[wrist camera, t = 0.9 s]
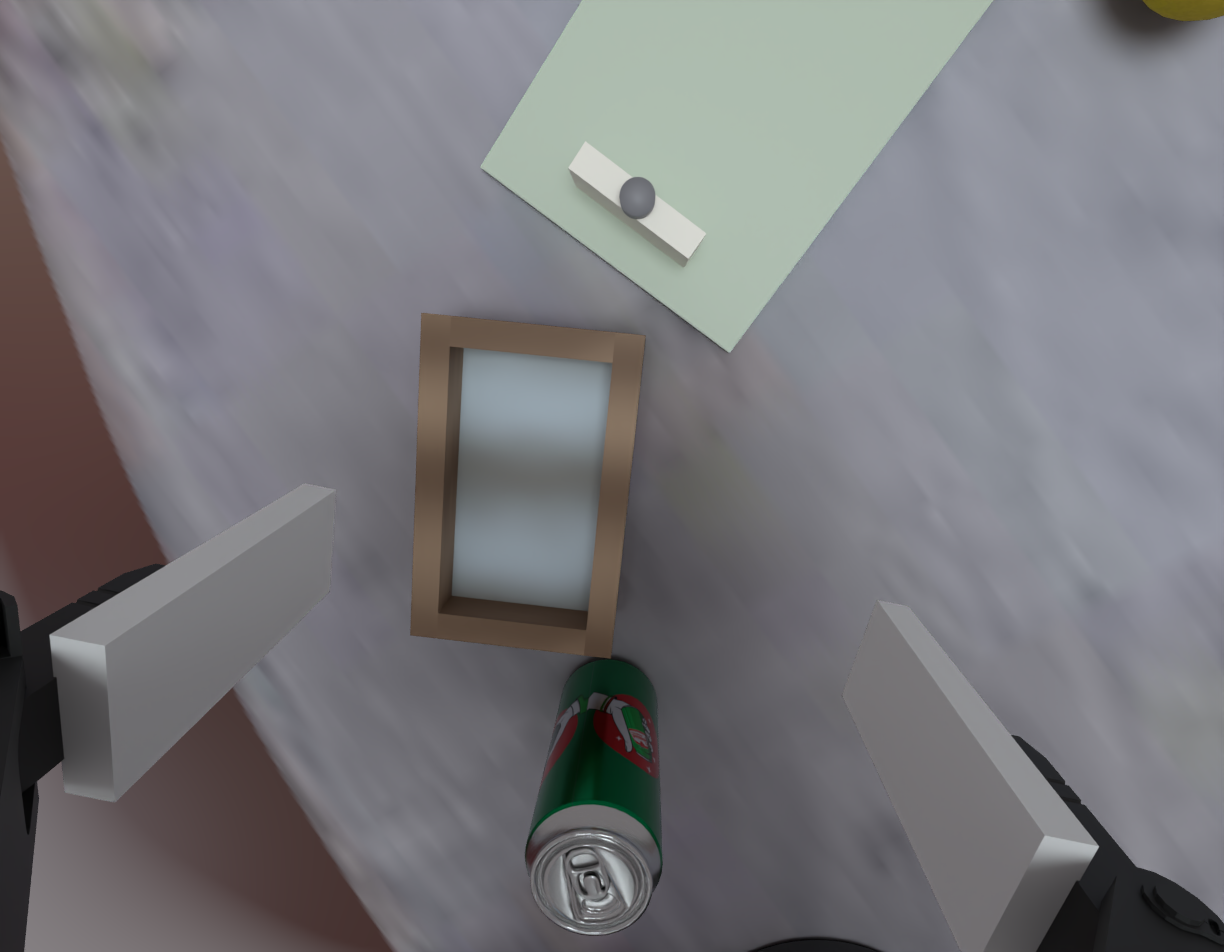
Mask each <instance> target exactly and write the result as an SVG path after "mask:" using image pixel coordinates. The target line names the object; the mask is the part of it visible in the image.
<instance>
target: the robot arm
mask: <svg viewBox="0 0 1224 952" xmlns="http://www.w3.org/2000/svg"><path fill="white" fill-rule="evenodd" d="M335 503H336V490H335V489H330V488H325V487H320V486H315V485H311V484H306V483H304V484H303V485H301V486H299V487H298V488H296V489H294V490H292V491H291V492H289V493H287V494H286V495H284V496H282V497H281V498H279V499H277V500H276V501H274V502H272V503H271V504H269V505H267V506H266V507H264V508H262V509H260V510H259V511H257V512H255V513H254V514H252V515H250V516H249V517H247V518H245V519H244V520H242V521H240V522H239V523H237V524H235V525H234V526H232V527H230V528H228V529H227V530H225V531H223V532H222V533H220V534H218V535H217V536H215V537H213V538H212V539H210V540H208V541H207V542H205V543H203V544H202V545H200V546H198V547H196V548H195V549H193V550H191V551H190V552H188V553H186V554H185V555H183V556H181V557H180V558H178V559H176V560H175V561H173V562H171V563H170V564H168V565H166V566H165V565H160V564H153V565H150V566H147V567H144V568H141V569H137V570H134V571H131V572H127V573H124V574H122V575H120V576H119V577H117V578H115V579H113V580H112V581H110V582H108V583H106V584H105V585H103V586H101V587H99V588H98V591H92V592H90V593H88V594H87V595H85V596H83V597H81V598H79V599H78V600H77V602H76V603H71V604H69V605H67V606H65V607H63V608H62V609H60V610H58V611H56V612H55V613H53V614H51V615H49V616H47V617H46V618H44V619H42V620H40V621H39V622H37V623H35V624H33V625H31V626H30V627H28V628H26V629H24V630H22V631H21V632H20V626H19V617H18V608H17V603H16V601H15V598H14V596H12V595H9V594H7V593H5V592H3V591H0V952H24V947H25V935H26V925H27V916H28V904H29V895H30V885H31V875H32V863H33V854H34V843H35V834H36V823H37V813H38V803H39V795H38V787H37V781H38V780H39V779H40V778H41V777H43V776H44V775H45V774H46V773H48V772H49V771H50V770H51V769H52V768H54V767H55V766H56V765H57V764H58V763H60V762H61V761H62V771H63V780H64V792H65V793H71V794H75V795H80V796H85V797H90V798H95V799H100V800H105V801H110V802H116V801H117V800H118V799H119V798H120V797H121V796H122V795H123V794H124V793H125V792H126V791H127V790H128V789H129V788H130V787H131V786H132V785H133V784H134V783H135V782H136V781H137V780H138V779H139V778H140V777H141V776H142V775H143V774H144V773H146V772H147V771H148V769H150V768H151V767H152V766H153V765H154V764H155V763H156V761H158V760H159V759H160V758H161V757H162V756H163V755H164V754H165V753H166V752H167V751H168V750H169V749H170V748H171V747H172V746H173V745H174V744H175V743H176V742H177V741H178V740H179V739H180V738H181V737H182V736H183V735H184V734H185V733H186V732H187V731H188V730H189V729H190V728H191V727H192V726H193V725H194V724H195V723H196V722H197V721H199V720H200V719H201V718H202V716H204V715H205V714H206V713H207V712H208V711H209V710H210V708H212V707H213V706H214V705H215V704H216V703H217V702H218V701H219V700H220V699H221V698H222V697H223V696H224V695H225V694H226V693H227V692H228V691H229V690H230V689H231V688H232V687H233V686H234V685H235V684H236V683H237V682H238V681H239V680H240V679H241V678H242V677H243V676H244V675H245V674H246V673H247V672H249V671H250V670H251V669H252V668H253V667H254V666H255V665H256V664H257V663H258V662H259V661H260V660H261V659H262V658H263V657H264V656H265V655H266V654H267V653H268V652H269V651H270V650H271V649H272V648H273V647H274V646H275V645H276V644H277V643H278V642H279V641H280V640H281V639H282V638H283V637H284V636H285V635H286V634H287V633H288V632H289V631H290V630H291V629H292V628H293V627H294V626H295V625H296V624H297V623H298V622H299V621H300V620H302V619H303V618H304V617H305V616H306V615H307V614H308V613H309V612H310V611H311V610H312V609H313V608H314V607H315V606H316V605H317V604H318V603H319V602H320V601H321V600H322V599H323V598H324V597H325V596H326V595H327V594H328V593H329V592H330V583H331V567H332V551H333V535H334V519H335ZM842 697H843V699H844V701H845V703H846V705H847V708H848V710H849V712H850V714H851V716H852V718H853V721H854V723H855V725H856V727H857V729H858V731H859V733H860V736H861V738H862V740H863V742H864V744H865V746H866V749H867V751H868V753H869V755H870V757H871V759H872V761H873V764H874V766H875V768H876V770H877V772H878V774H879V776H880V779H881V781H882V783H883V785H884V787H885V789H886V792H887V794H888V796H889V798H890V800H891V802H892V804H893V807H894V809H895V811H896V813H897V815H898V817H899V820H900V822H901V824H902V826H903V828H904V830H905V832H906V835H907V837H908V839H909V841H910V843H911V845H912V848H913V850H914V852H915V854H916V856H917V858H918V860H919V863H920V865H921V867H922V869H923V871H924V873H925V876H926V878H927V880H928V882H929V884H930V886H931V888H932V891H933V893H934V895H935V897H936V899H937V901H938V904H939V906H940V908H941V910H942V912H943V914H944V916H945V919H946V921H947V923H948V925H949V927H950V929H951V932H952V934H953V936H954V938H955V940H956V942H957V944H958V947H959V949H960V951H961V952H1224V923H1223V922H1222V921H1221V919H1220V918H1219V917H1218V916H1217V915H1216V914H1215V913H1214V912H1213V911H1212V910H1210V909H1209V908H1208V907H1207V906H1206V905H1205V904H1204V903H1203V902H1202V901H1200V900H1199V899H1198V898H1197V897H1195V896H1194V895H1192V894H1191V893H1190V892H1188V891H1187V890H1185V889H1184V888H1182V887H1181V886H1179V885H1178V884H1176V883H1175V882H1173V881H1171V880H1169V879H1167V878H1165V877H1163V876H1161V875H1159V874H1157V873H1155V872H1152V871H1148V870H1145V869H1141V868H1138V867H1136V866H1135V865H1134V864H1133V862H1132V861H1131V860H1130V859H1129V858H1128V856H1127V855H1126V854H1125V853H1124V852H1123V850H1122V849H1121V848H1120V847H1119V846H1118V844H1117V843H1116V842H1115V841H1114V840H1113V838H1112V837H1111V836H1110V835H1109V834H1108V832H1107V831H1106V830H1105V829H1104V828H1103V826H1102V825H1101V824H1100V823H1099V822H1098V820H1097V819H1096V818H1095V817H1094V815H1093V814H1092V813H1091V812H1090V811H1089V809H1088V808H1087V807H1086V806H1085V805H1082V804H1081V800H1080V799H1079V797H1078V796H1077V795H1076V794H1075V793H1074V791H1073V790H1072V789H1071V788H1070V787H1069V786H1067V785H1065V781H1064V779H1063V778H1062V777H1061V776H1060V775H1059V773H1058V772H1057V771H1056V770H1055V768H1054V767H1053V766H1052V765H1051V764H1050V762H1049V761H1048V760H1047V759H1046V758H1045V757H1044V756H1043V755H1041V754H1040V753H1039V752H1038V751H1036V750H1035V749H1034V748H1033V747H1031V746H1030V745H1029V744H1028V743H1027V742H1025V741H1024V740H1023V739H1022V738H1020V737H1019V736H1014V735H1010V734H1009V732H1008V731H1007V730H1006V728H1005V727H1004V726H1003V725H1002V723H1001V722H1000V721H999V720H998V718H997V717H996V716H995V715H994V713H993V712H992V711H991V710H990V708H989V707H988V706H987V705H986V703H985V702H984V701H983V700H982V698H981V697H980V696H979V695H978V693H977V692H976V691H975V689H974V688H973V687H972V686H971V684H970V683H969V682H968V681H967V679H966V678H965V677H964V676H963V674H962V673H961V672H960V671H959V669H958V668H957V667H956V666H955V664H954V663H953V662H952V661H951V659H950V658H949V657H948V655H947V654H946V653H945V652H944V650H943V649H942V648H941V647H940V645H939V644H938V643H937V642H936V640H935V639H934V638H933V637H932V635H931V634H930V633H929V632H928V630H927V629H926V628H925V627H924V625H923V624H922V623H921V622H920V620H919V619H918V618H917V616H916V615H915V614H914V613H913V611H912V610H911V609H910V608H909V606H905V605H900V604H895V603H890V602H885V601H880V600H877V601H876V604H875V606H874V609H873V612H872V615H871V617H870V620H869V623H868V625H867V628H866V631H865V634H864V636H863V639H862V642H861V644H860V647H859V650H858V653H857V655H856V658H855V661H854V663H853V666H852V669H851V672H850V674H849V677H848V680H847V682H846V685H845V688H844V691H843V693H842ZM757 952H876V951H874V950H871V949H868V948H865V947H862V946H858V945H854V944H850V943H844V942H838V941H828V940H806V941H796V942H789V943H784V944H779V945H775V946H772V947H768V948H765V949H762V950H760V951H757Z"/></svg>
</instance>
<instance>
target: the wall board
mask: <svg viewBox="0 0 1224 952" xmlns="http://www.w3.org/2000/svg"><path fill="white" fill-rule="evenodd" d="M992 1H993V0H582V1H581V3H580V5H579V6H578V8H577V10H576V11H575V13H574V14H573V16H572V18H571V19H570V21H569V23H568V24H567V26H566V28H565V29H564V31H563V32H562V34H561V36H560V37H559V39H558V41H557V42H556V44H555V46H554V47H553V49H552V50H551V52H550V54H549V55H548V57H547V59H546V60H545V62H544V64H543V65H542V67H541V68H540V70H539V72H538V73H537V75H536V77H535V78H534V80H533V82H532V83H531V85H530V86H529V88H528V90H527V91H526V93H525V95H524V96H523V98H522V100H521V101H520V103H519V104H518V106H517V108H516V109H515V111H514V113H513V114H512V116H511V118H510V119H509V121H508V122H507V124H506V126H505V127H504V129H503V131H502V132H501V134H500V136H499V137H498V139H497V140H496V142H495V144H494V145H493V147H492V149H491V150H490V152H489V154H488V155H487V157H486V158H485V160H484V162H483V163H482V165H481V168H482V169H483V170H484V171H485V172H486V173H488V174H489V175H490V176H492V177H493V178H494V179H496V180H497V181H498V182H500V183H501V184H502V185H504V186H505V187H506V188H508V189H509V190H510V191H512V192H513V193H514V194H516V195H517V196H519V197H520V198H521V199H523V200H524V201H525V202H527V203H528V204H529V205H531V206H532V207H533V208H535V209H536V210H537V211H539V212H540V213H541V214H543V215H544V216H545V217H547V218H548V219H549V220H551V221H552V222H553V223H555V224H556V225H557V226H559V227H560V228H561V229H563V230H564V231H565V232H567V233H568V234H569V235H571V236H572V237H573V238H575V239H576V240H577V241H579V242H580V243H582V244H583V245H584V246H586V247H587V248H588V249H590V250H591V251H592V252H594V253H595V254H596V255H598V256H599V257H600V258H602V259H603V260H604V261H606V262H607V263H608V264H610V265H611V266H612V267H614V268H615V269H616V270H618V271H619V272H620V273H622V274H623V275H624V276H626V277H627V278H628V279H630V280H631V281H632V282H634V283H635V284H636V285H638V286H639V287H640V288H642V289H643V290H645V291H646V292H647V293H649V294H650V295H651V296H653V297H654V298H655V299H657V300H658V301H659V302H661V303H662V304H663V305H665V306H666V307H667V308H669V309H670V310H671V311H673V312H674V313H675V314H677V315H678V316H679V317H681V318H682V319H683V320H685V321H686V322H687V323H689V324H690V325H691V326H693V327H694V328H695V329H697V330H698V331H699V332H701V333H702V334H703V335H705V336H706V337H708V338H709V339H710V340H712V341H713V342H714V343H716V344H717V345H718V346H720V347H721V348H722V349H724V350H725V351H726V352H728V353H730V352H731V350H732V349H733V348H734V346H735V345H736V344H737V342H738V341H739V340H740V338H741V337H742V336H743V334H744V333H745V332H746V330H747V329H748V328H749V326H750V325H751V324H752V322H753V321H754V320H755V318H756V317H757V316H758V314H759V313H760V312H761V310H762V309H763V308H764V306H765V305H766V304H767V302H768V301H769V300H770V298H771V297H772V296H773V294H774V293H775V292H776V290H777V289H778V288H779V286H780V285H781V284H782V282H783V281H784V280H785V278H786V277H787V276H788V274H789V273H790V272H791V270H792V269H793V268H794V266H795V265H796V263H797V262H798V261H799V259H800V258H801V257H802V255H803V254H804V253H805V251H806V250H807V249H808V247H809V246H810V245H811V243H812V242H813V241H814V239H815V238H816V237H817V235H818V234H819V233H820V231H821V230H822V229H823V227H824V226H825V225H826V223H827V222H828V221H829V219H830V218H831V217H832V215H833V214H834V213H835V211H836V210H837V209H838V207H839V206H840V205H841V203H842V202H843V201H844V199H845V198H846V197H847V195H848V194H849V193H850V191H851V190H852V189H853V187H854V186H855V185H856V183H857V182H858V181H859V179H860V178H861V177H862V175H863V174H864V173H865V171H866V170H867V169H868V167H869V166H870V165H871V163H872V162H873V160H874V159H875V158H876V156H877V155H878V154H879V152H880V151H881V150H882V148H883V147H884V146H885V144H886V143H887V142H888V140H889V139H890V138H891V136H892V135H893V134H894V132H895V131H896V130H897V128H898V127H899V126H900V124H901V123H902V122H903V120H904V119H905V118H906V116H907V115H908V114H909V112H910V111H911V110H912V108H913V107H914V106H915V104H916V103H917V102H918V100H919V99H920V98H921V96H922V95H923V94H924V92H925V91H926V90H927V88H928V87H929V86H930V84H931V83H932V82H933V80H934V79H935V78H936V76H937V75H938V74H939V72H940V71H941V70H942V68H943V67H944V66H945V64H946V63H947V62H948V60H949V59H950V58H951V56H952V55H953V53H954V52H955V51H956V49H957V48H958V47H959V45H960V44H961V43H962V41H963V40H964V39H965V37H966V36H967V35H968V33H969V32H970V31H971V29H972V28H973V27H974V25H975V24H976V23H977V21H978V20H979V19H980V17H981V16H982V15H983V13H984V12H985V11H986V9H987V8H988V7H989V5H990V4H991V3H992Z"/></svg>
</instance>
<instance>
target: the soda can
mask: <svg viewBox="0 0 1224 952" xmlns="http://www.w3.org/2000/svg"><path fill="white" fill-rule="evenodd" d="M525 862H526V868H527V871H528V875H529V877H530V884H531V891H532V894H533V898H534V900H535V902H536V904H537V906H538V907H539V909H540V910H541V911H542V913H543V914H544V915H545V916H546V917H547V918H548V919H549V920H551V921H552V922H553V923H555V924H556V925H558V926H560V927H561V928H563V929H565V930H568V931H570V932H573V933H577V934H581V935H589V936H601V935H608V934H612V933H616V932H619V931H621V930H623V929H626V928H627V927H629V926H630V925H632V924H633V923H635V922H636V921H637V920H638V919H639V918H640V917H641V916H642V914H643V913H644V912H645V910H646V908H647V906H648V905H649V902H650V899H651V896H652V892H653V891H654V890H655V888H656V886H657V884H658V882H659V879H660V876H661V873H662V865H663V860H662V830H661V801H660V772H659V743H658V713H657V697H656V693H655V690H654V688H653V685H652V684H651V682H650V681H649V679H648V678H647V677H646V676H645V675H644V674H643V673H642V672H641V671H640V670H639V669H637V668H636V667H634V666H632V665H630V664H628V663H625V662H622V661H618V660H610V659H608V660H598V661H593V662H591V663H588V664H586V665H584V666H582V667H580V668H579V669H578V670H576V671H575V672H574V673H573V674H572V675H571V676H570V678H569V679H568V681H567V682H566V684H565V686H564V689H563V693H562V697H561V701H560V705H559V709H558V713H557V718H556V722H555V726H554V730H553V734H552V739H551V743H550V747H549V751H548V756H547V760H546V764H545V768H544V772H543V777H542V781H541V785H540V789H539V793H538V798H537V802H536V806H535V810H534V814H533V819H532V823H531V827H530V831H529V835H528V840H527V844H526V850H525Z"/></svg>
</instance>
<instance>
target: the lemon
mask: <svg viewBox="0 0 1224 952" xmlns="http://www.w3.org/2000/svg"><path fill="white" fill-rule="evenodd" d="M1142 1H1143V2H1144V3H1145V4H1146V5H1147V6H1148V7H1149V8H1150V9H1151V10H1153V11H1155V12H1156V13H1158V14H1160V15H1161V16H1163V17H1166V18H1170V19H1175V20H1179V21H1197V20H1209V19H1213V18H1217V17H1220V16H1223V15H1224V0H1142Z"/></svg>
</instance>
